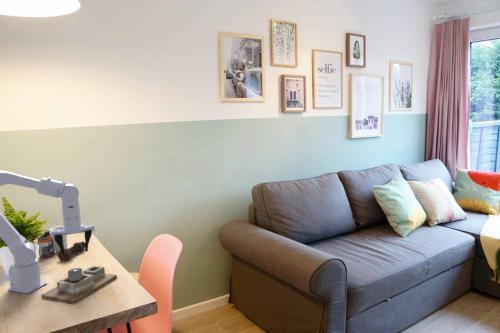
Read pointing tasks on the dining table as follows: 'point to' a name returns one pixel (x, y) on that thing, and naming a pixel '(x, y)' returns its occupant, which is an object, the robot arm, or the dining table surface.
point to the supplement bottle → (46, 245)
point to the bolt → (71, 251)
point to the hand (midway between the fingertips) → (75, 252)
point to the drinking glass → (56, 246)
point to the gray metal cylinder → (75, 275)
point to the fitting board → (80, 286)
